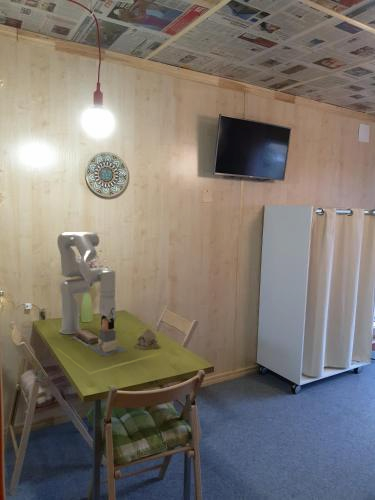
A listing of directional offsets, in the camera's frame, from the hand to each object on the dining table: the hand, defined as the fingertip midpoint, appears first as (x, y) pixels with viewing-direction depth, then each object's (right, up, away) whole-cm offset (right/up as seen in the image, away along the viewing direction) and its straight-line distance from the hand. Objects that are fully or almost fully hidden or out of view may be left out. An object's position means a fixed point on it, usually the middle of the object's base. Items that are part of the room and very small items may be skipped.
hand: (107, 326), depth 198 cm
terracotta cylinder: (0, -2, 0) cm, 2 cm away
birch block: (0, -12, +1) cm, 12 cm away
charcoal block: (0, -7, +1) cm, 7 cm away
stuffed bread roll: (+20, -13, +9) cm, 25 cm away
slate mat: (0, -13, +1) cm, 13 cm away
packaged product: (-14, -12, +14) cm, 23 cm away
